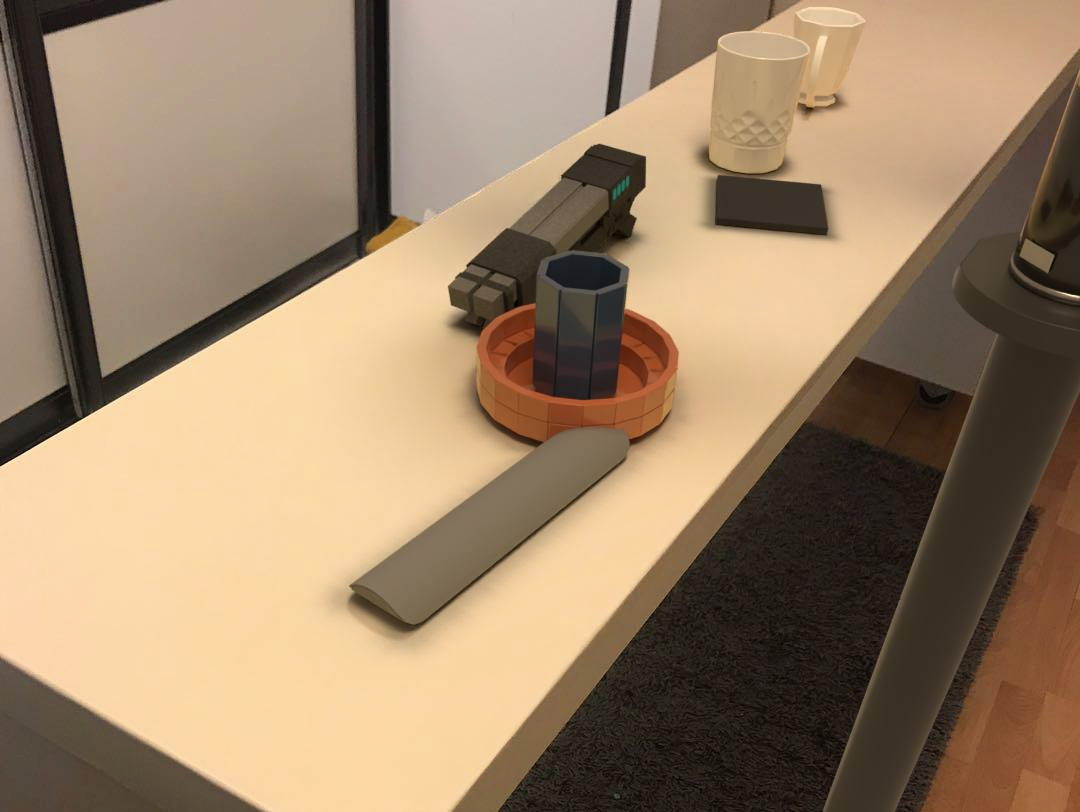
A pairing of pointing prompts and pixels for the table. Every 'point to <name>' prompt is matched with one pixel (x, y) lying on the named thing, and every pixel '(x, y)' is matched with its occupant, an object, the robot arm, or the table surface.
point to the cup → (826, 50)
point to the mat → (770, 204)
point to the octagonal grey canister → (579, 325)
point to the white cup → (755, 99)
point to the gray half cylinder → (490, 523)
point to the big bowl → (542, 416)
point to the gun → (552, 232)
